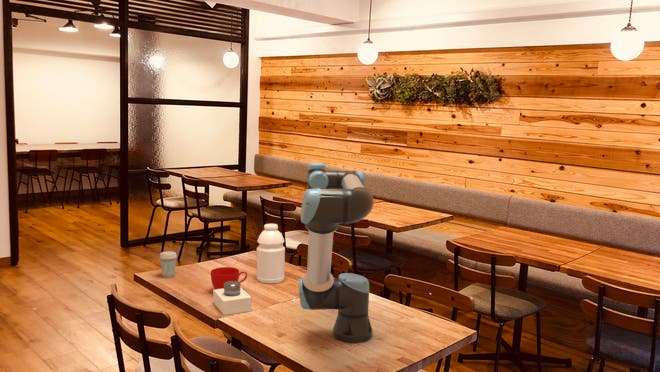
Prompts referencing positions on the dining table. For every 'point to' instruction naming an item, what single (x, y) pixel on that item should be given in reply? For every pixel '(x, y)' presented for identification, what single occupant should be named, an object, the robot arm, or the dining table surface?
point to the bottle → (270, 255)
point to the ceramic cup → (225, 276)
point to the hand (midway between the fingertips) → (315, 254)
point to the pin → (232, 288)
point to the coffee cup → (168, 263)
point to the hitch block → (232, 302)
